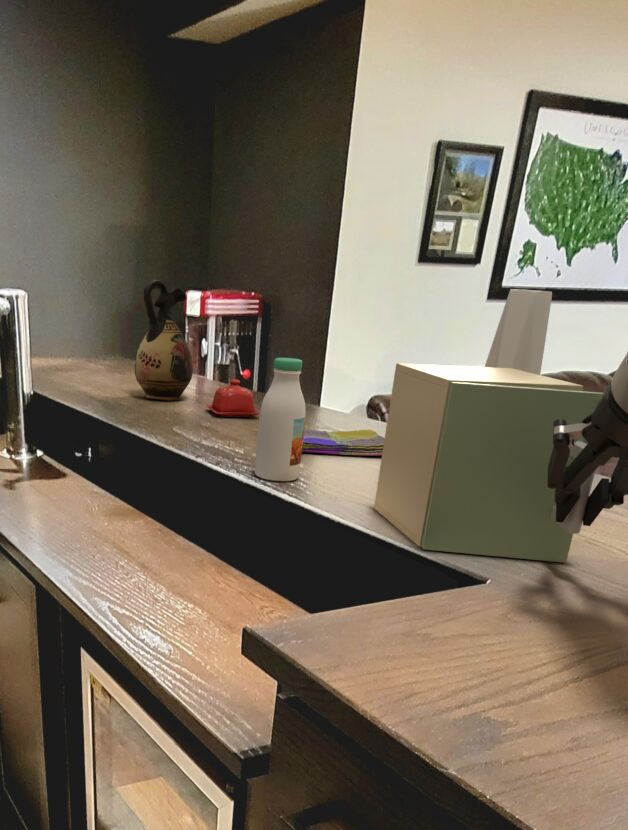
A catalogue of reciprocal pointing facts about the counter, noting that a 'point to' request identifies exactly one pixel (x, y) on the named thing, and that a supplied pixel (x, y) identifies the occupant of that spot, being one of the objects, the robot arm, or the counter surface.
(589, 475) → the robot arm
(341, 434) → the dish towel
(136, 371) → the ceramic jug
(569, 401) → the cupboard door
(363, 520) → the counter surface
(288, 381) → the milk bottle
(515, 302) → the tall faceted taper
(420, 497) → the cupboard
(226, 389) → the butter dish
